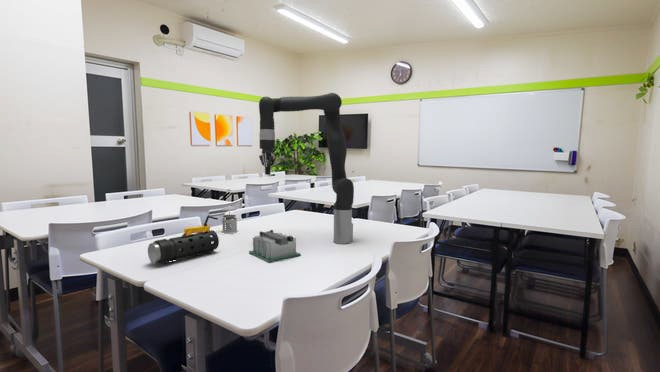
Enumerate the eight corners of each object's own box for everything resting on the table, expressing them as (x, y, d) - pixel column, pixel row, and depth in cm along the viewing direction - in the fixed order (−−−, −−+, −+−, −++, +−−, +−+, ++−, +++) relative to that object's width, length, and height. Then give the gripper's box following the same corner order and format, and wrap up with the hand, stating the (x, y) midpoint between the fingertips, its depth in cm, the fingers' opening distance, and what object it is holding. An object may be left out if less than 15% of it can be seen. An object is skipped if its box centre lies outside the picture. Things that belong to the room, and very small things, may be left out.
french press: (229, 235, 195) (227, 190, 192) (215, 232, 201) (213, 189, 198) (242, 232, 203) (241, 188, 200) (228, 229, 209) (227, 187, 207)
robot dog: (220, 241, 183) (220, 215, 182) (184, 246, 172) (183, 219, 171) (217, 238, 188) (216, 213, 186) (181, 243, 177) (180, 217, 176)
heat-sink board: (279, 247, 172) (279, 227, 171) (301, 256, 158) (301, 235, 157) (249, 253, 162) (248, 232, 161) (269, 263, 148) (269, 240, 147)
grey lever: (269, 237, 166) (269, 230, 166) (288, 244, 154) (288, 237, 154) (262, 238, 164) (262, 232, 163) (280, 245, 152) (280, 238, 151)
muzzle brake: (219, 253, 162) (219, 231, 161) (158, 269, 140) (157, 243, 139) (207, 249, 168) (207, 228, 166) (147, 264, 146) (146, 239, 145)
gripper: (281, 139, 170) (281, 175, 171) (267, 139, 180) (267, 173, 182) (267, 138, 165) (267, 175, 167) (253, 139, 175) (254, 174, 177)
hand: (267, 174), depth 174 cm, fingers closed
